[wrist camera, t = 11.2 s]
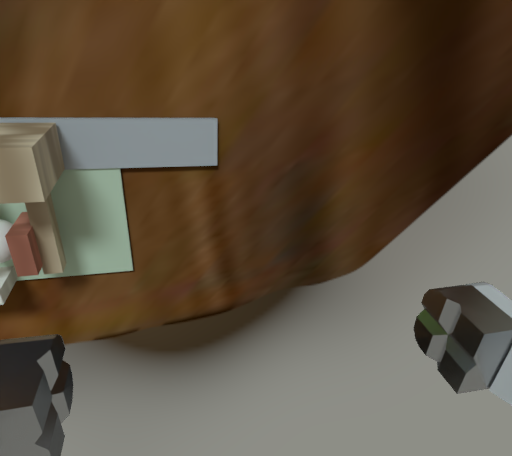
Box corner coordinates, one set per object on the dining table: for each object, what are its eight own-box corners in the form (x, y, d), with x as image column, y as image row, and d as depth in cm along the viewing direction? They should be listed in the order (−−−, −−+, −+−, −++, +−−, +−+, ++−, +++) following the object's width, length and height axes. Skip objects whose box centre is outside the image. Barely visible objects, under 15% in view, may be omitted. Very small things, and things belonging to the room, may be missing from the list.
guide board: (216, 117, 35) (217, 119, 34) (216, 163, 37) (217, 165, 36) (-3, 117, 31) (-6, 119, 30) (11, 168, 33) (9, 171, 32)
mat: (120, 166, 35) (119, 167, 34) (133, 268, 40) (132, 270, 40) (-119, 172, 31) (-122, 174, 30) (-68, 285, 36) (-70, 288, 36)
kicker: (55, 122, 31) (31, 147, 25) (82, 254, 37) (68, 299, 31) (-3, 122, 30) (-43, 148, 24) (34, 258, 36) (10, 305, 30)
